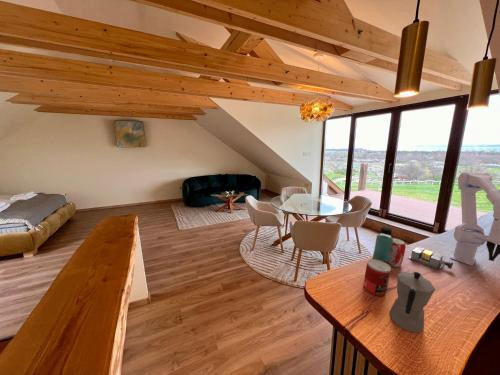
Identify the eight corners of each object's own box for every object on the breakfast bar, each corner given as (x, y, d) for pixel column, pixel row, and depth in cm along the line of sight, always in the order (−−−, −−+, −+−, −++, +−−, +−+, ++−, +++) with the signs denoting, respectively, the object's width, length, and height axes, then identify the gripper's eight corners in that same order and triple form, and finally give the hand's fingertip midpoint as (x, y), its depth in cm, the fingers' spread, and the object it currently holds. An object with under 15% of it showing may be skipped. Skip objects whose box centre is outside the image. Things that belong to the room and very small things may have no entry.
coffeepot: (392, 302, 77) (402, 258, 73) (425, 317, 71) (438, 270, 66) (382, 328, 66) (393, 278, 62) (420, 349, 60) (436, 295, 56)
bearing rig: (408, 258, 106) (410, 250, 105) (413, 253, 110) (415, 245, 109) (439, 270, 96) (441, 261, 95) (444, 264, 101) (446, 256, 100)
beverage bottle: (370, 270, 95) (378, 229, 90) (370, 263, 101) (377, 224, 96) (388, 275, 92) (397, 233, 87) (386, 267, 98) (394, 227, 93)
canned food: (378, 299, 78) (383, 273, 75) (358, 286, 85) (362, 261, 82) (390, 293, 82) (395, 268, 79) (370, 280, 88) (375, 257, 86)
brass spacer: (420, 260, 103) (422, 252, 102) (423, 257, 106) (425, 249, 105) (428, 263, 101) (430, 255, 100) (431, 260, 104) (433, 252, 102)
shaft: (412, 255, 106) (414, 250, 105) (414, 253, 108) (416, 248, 107) (450, 270, 95) (452, 264, 94) (452, 267, 97) (453, 261, 96)
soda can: (404, 269, 97) (409, 245, 94) (387, 267, 98) (392, 243, 95) (397, 260, 103) (402, 238, 101) (381, 258, 105) (385, 236, 102)
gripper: (474, 226, 89) (465, 254, 92) (530, 239, 78) (517, 272, 81) (477, 222, 93) (468, 250, 97) (530, 235, 82) (518, 265, 85)
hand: (491, 259), depth 89 cm, fingers closed
